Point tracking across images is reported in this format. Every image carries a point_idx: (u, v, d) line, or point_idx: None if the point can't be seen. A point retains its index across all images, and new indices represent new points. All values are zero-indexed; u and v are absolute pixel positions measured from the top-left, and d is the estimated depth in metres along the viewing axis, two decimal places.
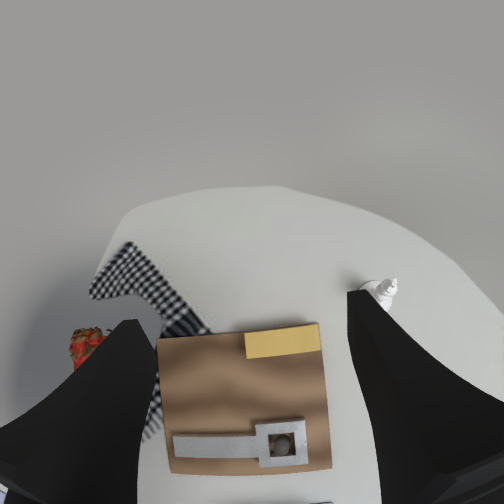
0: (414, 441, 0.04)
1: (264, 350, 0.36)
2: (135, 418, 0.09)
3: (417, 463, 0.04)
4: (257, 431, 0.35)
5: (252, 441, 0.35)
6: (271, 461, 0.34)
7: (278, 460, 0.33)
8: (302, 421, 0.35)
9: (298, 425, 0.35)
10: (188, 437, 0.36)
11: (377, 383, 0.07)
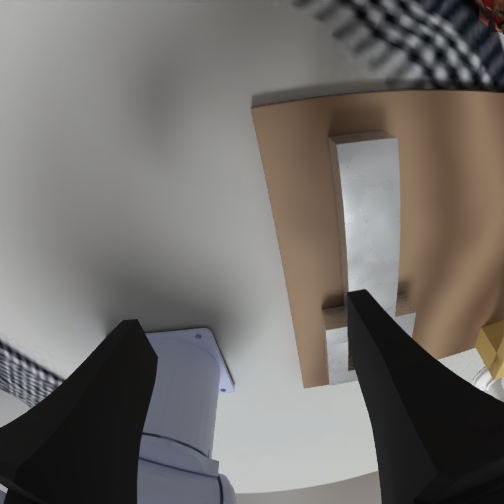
0: (414, 441, 0.04)
1: None
2: (135, 418, 0.09)
3: (417, 463, 0.04)
4: (403, 317, 0.19)
5: None
6: (339, 344, 0.20)
7: (340, 353, 0.20)
8: None
9: None
10: (397, 181, 0.14)
11: (377, 383, 0.07)
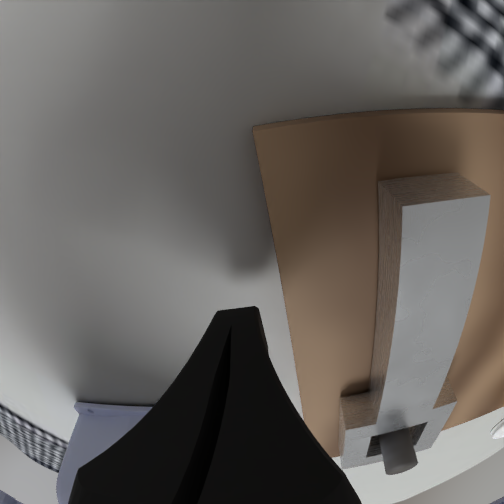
0: None
1: None
2: None
3: None
4: (441, 408, 0.13)
5: (421, 407, 0.12)
6: (359, 439, 0.14)
7: (360, 445, 0.14)
8: (429, 446, 0.15)
9: (425, 445, 0.15)
10: (477, 259, 0.08)
11: None
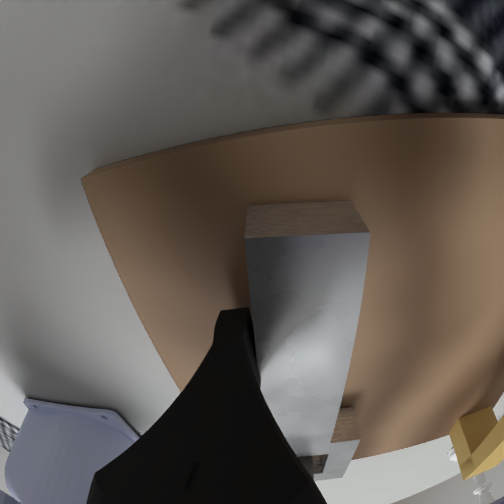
0: None
1: None
2: None
3: None
4: (341, 443, 0.13)
5: (315, 440, 0.13)
6: None
7: None
8: (340, 475, 0.16)
9: (334, 474, 0.16)
10: (357, 302, 0.09)
11: None
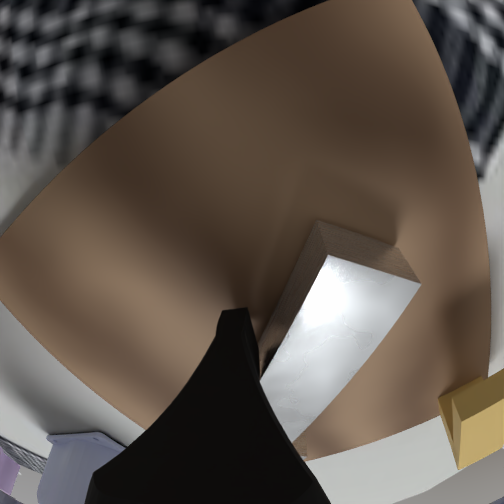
0: None
1: (475, 431, 0.09)
2: None
3: None
4: None
5: None
6: None
7: None
8: None
9: None
10: (379, 337, 0.09)
11: None
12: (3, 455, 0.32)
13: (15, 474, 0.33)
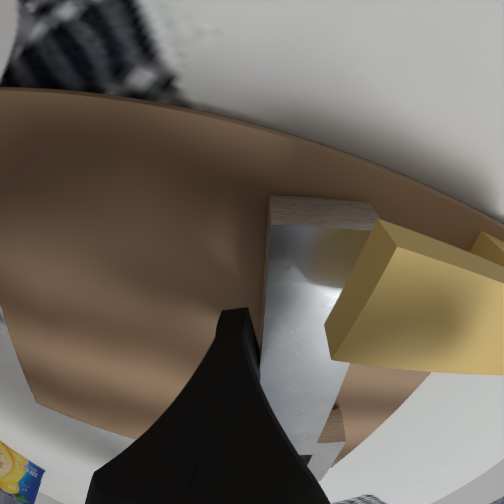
0: None
1: (419, 349, 0.07)
2: None
3: None
4: (327, 444, 0.13)
5: (303, 439, 0.13)
6: None
7: None
8: (319, 478, 0.16)
9: None
10: None
11: None
12: None
13: None
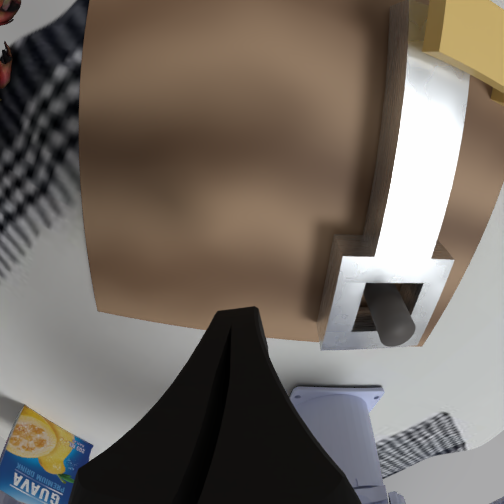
0: None
1: (489, 57, 0.07)
2: None
3: None
4: (439, 262, 0.14)
5: (421, 248, 0.13)
6: (353, 284, 0.14)
7: (351, 299, 0.15)
8: (417, 341, 0.17)
9: (413, 336, 0.16)
10: None
11: None
12: None
13: None
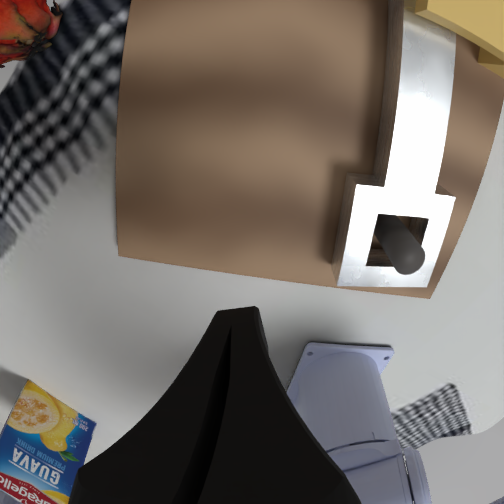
0: None
1: (468, 16, 0.08)
2: None
3: None
4: (442, 198, 0.15)
5: (425, 182, 0.15)
6: (366, 214, 0.16)
7: (364, 230, 0.16)
8: (426, 283, 0.18)
9: (423, 276, 0.17)
10: None
11: None
12: None
13: None
